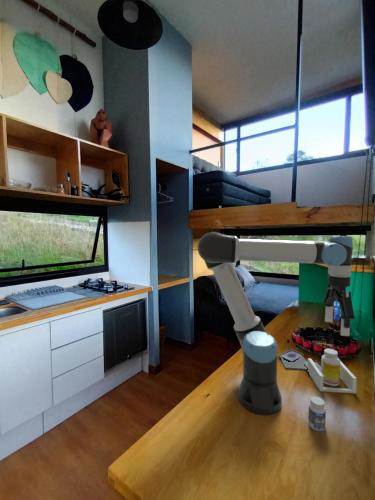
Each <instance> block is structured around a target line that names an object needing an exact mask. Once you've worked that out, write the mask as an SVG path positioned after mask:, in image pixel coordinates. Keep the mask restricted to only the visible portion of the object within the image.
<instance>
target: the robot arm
mask: <svg viewBox="0 0 375 500" xmlns="http://www.w3.org/2000/svg"><path fill="white" fill-rule="evenodd" d="M353 240H354V239H353V238H352V236H350V235H331V236H330V238H329V240H309V239H308V240H280V239H279V240H278V239H277V240H274V239H273V240H270V239H254V238H253V239H251V238H250V239H247V238H239V237H237V236H236V235H227V234H222V233H220V232H217V231H211V232H207V233H205V234H204V235H202V236H201V237H200V239H199V241H198V243H197V252H198V255H199V257H200V258H201V259H202V260H203V262H204V263H205V266H206V268H207V270H210V271H212V272H213V274H214V277H215V279H216V282H217V284H218V286H219V289H220V291H221V293H222V295H223V297H224V300H225V302H226V305H227V306H228V308H229V312H230V314H231V316H232V318H233V320H234V325H233V330H234V332H235V334H236V337H237V339H238V341H239V343H240V347H241V352H242V360H243V362H242V364H243V366H242V367H243V368H242V374H243V377H242V378H241V381H240V385H239V388H238V392H237V393H238V394H237V395H238V397H237V398H238V401H239V403H240V404H241V405H242V406H243V408H245V409H246V410H248V411H250V412H251V413H254V414H256V415H264V416H265V415H266V416H269V415H273V414H276V413H278V412H279V411H280V410H281V408H282V405H283V403H282V395H281V391H280V389H279V386H278V381H277V379H278V378H277V377H278V374H277V373H278V372H277V371H278V352H279V351H278V343H277V341H276V339H275V338H274V336H272V334H268V332H267V331H266V328H265V326H264V324H263V322H262V320H261V318H260V316H257V315H256V314H255V313H254V310H253V309H252V306H251V303H250V301H249V299H248V296H247V294H246V292H245V289H244V287H243V285H242V283H241V281H240V278H239V276H238V274H237V272H236V270H235V267H234V264H235V263H237V262H238V261H245V262H247V261H248V262H249V261H252V262H270V263H271V262H272V263H291V264H293V263H295V264H314V265H326V266H327V267H328V268H327V269H328V270H327V275H328V276H327V284H326V285H327V286H326V292H325V294H324V298H323V300H322V302H323V304H324V306H325V314H324V322H326V323H333V322H334V321H333V317H334V307H335V305H334V304H335V302H338V305H339V308H340V312H341V317H340V318H341V320H340V333H339V335H340V336H343V337H350V334H351V333H350V330H351V329H350V328H351V320H355V319H356V317H355V313H354V308H353V301H352V292H351V291H349V290H348V291H347V288H349V287H351V277H350V276H352V270H353V267H352V260H353V249H354V247H353V246H354V244H353V243H354V242H353Z"/></svg>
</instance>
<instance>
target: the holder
mask: <svg viewBox="0 0 375 500" xmlns="http://www.w3.org/2000/svg"><path fill="white" fill-rule="evenodd" d="M307 363H308V370H307V372H309V373H308V374H309V376H310V378H311V380H312V381H313V382H314V384H315V387H317V389H318V391H319V392H330V393H341V394H342V393H344V394H357V376H355V375H354V374H353V373H352V372H351V371H350V369H349V368H348V367H347V366H346V365H345V364H344V363H343V362H342V361H341V360H340V380H341V381H342V383H343V384H344V385H345V386H346V388H341V387H326V386H324V382H323V378H324V376H323V375H322V373H321V372H320V371H319V370H320V368H318V366H317V365H316V364H315V362H314V361H313V359H312V358H307Z"/></svg>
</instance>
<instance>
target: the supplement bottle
mask: <svg viewBox="0 0 375 500" xmlns="http://www.w3.org/2000/svg"><path fill="white" fill-rule="evenodd" d="M323 353H324V354H322V355H321V359H320V360H321V361H320V363H321V364H320V370H321V373H322V375H323V376H324V378H323V384H324V385H327V386H331V387H337V386H339V385H340V383H341V381H340V380H341V379H340V361H341V359H340V358H339V357H338V354H339V353H338V351H337V350H336V349H332V348H325V349H324V351H323Z"/></svg>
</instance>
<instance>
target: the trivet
mask: <svg viewBox="0 0 375 500" xmlns="http://www.w3.org/2000/svg"><path fill="white" fill-rule="evenodd" d="M282 355H283V354H281V355H280V354H279V356H278V357H279V359H280V358H281V359H280V361H281V362H282V363H281V364H282V365H283V367H284V369H285V370H295V371H296V370H297V371H298V370H299V371H300V370H301V371H308V370H307V368H306V367H305V366H304V362H307V360H306V359H305V357H304V356H303V355H300V356H301V357H300V358H299V359H298V360H296V361H295V362H288V361H286V360H284V359H283V358H282V357H281V356H282Z"/></svg>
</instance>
